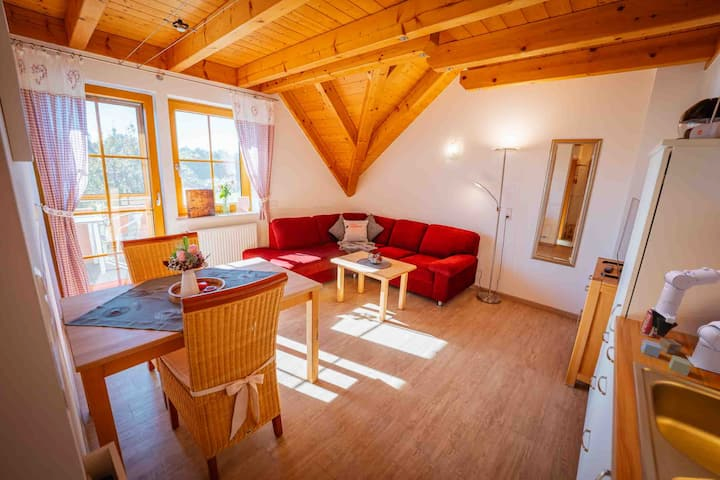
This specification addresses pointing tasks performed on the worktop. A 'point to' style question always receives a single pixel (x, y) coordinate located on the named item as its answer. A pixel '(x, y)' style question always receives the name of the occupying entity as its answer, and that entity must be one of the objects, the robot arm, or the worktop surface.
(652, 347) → the slate blue block
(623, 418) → the worktop surface
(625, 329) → the worktop surface
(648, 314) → the soda can
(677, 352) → the walnut block
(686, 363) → the olive block
